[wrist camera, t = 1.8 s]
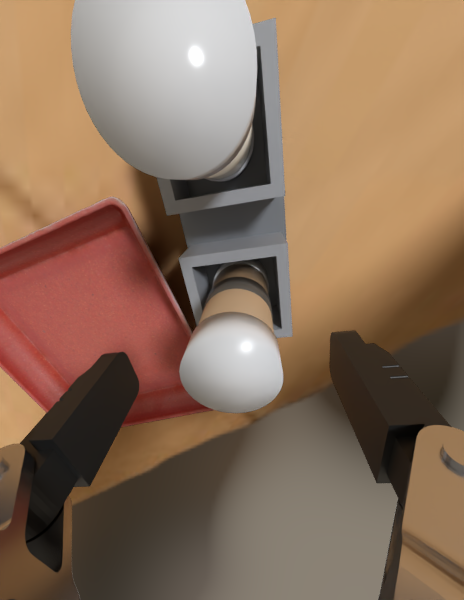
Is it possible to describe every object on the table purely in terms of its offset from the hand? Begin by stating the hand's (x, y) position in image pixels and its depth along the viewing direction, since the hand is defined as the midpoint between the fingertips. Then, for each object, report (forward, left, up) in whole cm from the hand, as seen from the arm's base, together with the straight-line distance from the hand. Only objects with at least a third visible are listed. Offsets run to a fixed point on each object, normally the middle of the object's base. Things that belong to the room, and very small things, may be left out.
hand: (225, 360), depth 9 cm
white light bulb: (0, -8, -8) cm, 11 cm away
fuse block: (0, -4, -9) cm, 10 cm away
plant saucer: (+13, +4, -10) cm, 17 cm away
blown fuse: (0, 0, -8) cm, 8 cm away
